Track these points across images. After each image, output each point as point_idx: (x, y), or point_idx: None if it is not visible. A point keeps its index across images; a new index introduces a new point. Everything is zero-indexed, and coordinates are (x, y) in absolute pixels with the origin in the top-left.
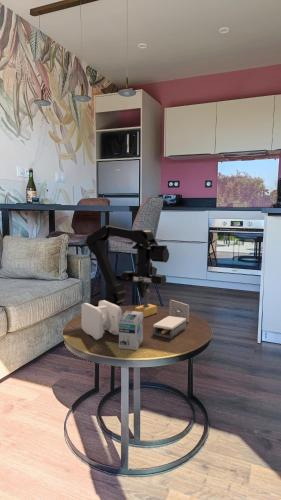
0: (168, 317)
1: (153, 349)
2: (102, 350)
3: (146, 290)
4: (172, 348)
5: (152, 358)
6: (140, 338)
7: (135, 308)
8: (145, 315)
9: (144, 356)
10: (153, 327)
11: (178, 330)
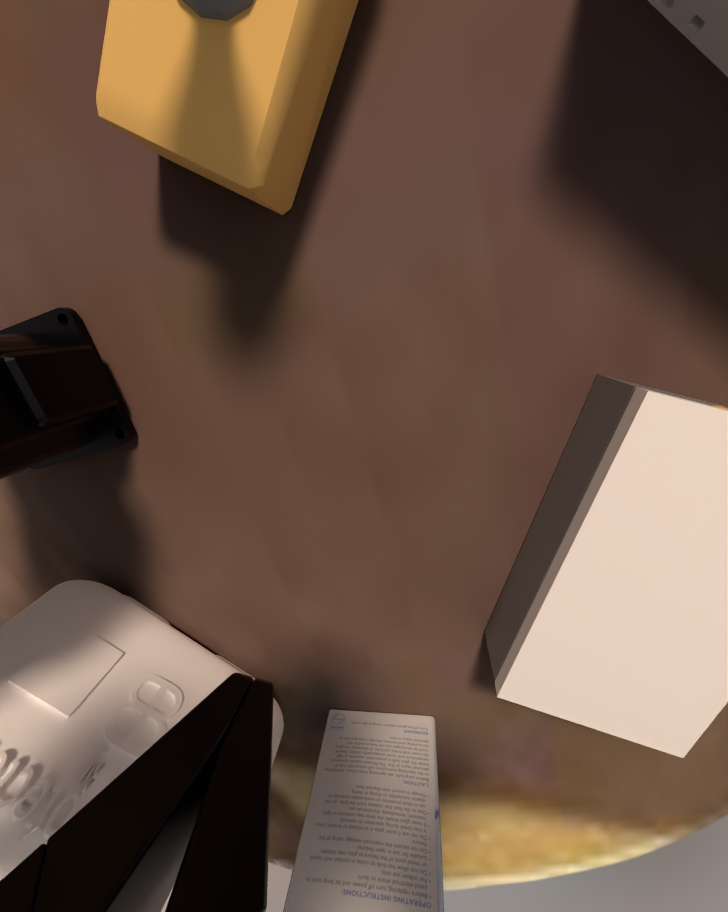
0: (646, 460)
1: (523, 809)
2: (286, 837)
3: (265, 887)
4: (636, 790)
5: (532, 879)
6: (439, 810)
7: (113, 124)
8: (294, 182)
9: (491, 868)
10: (496, 677)
11: None
